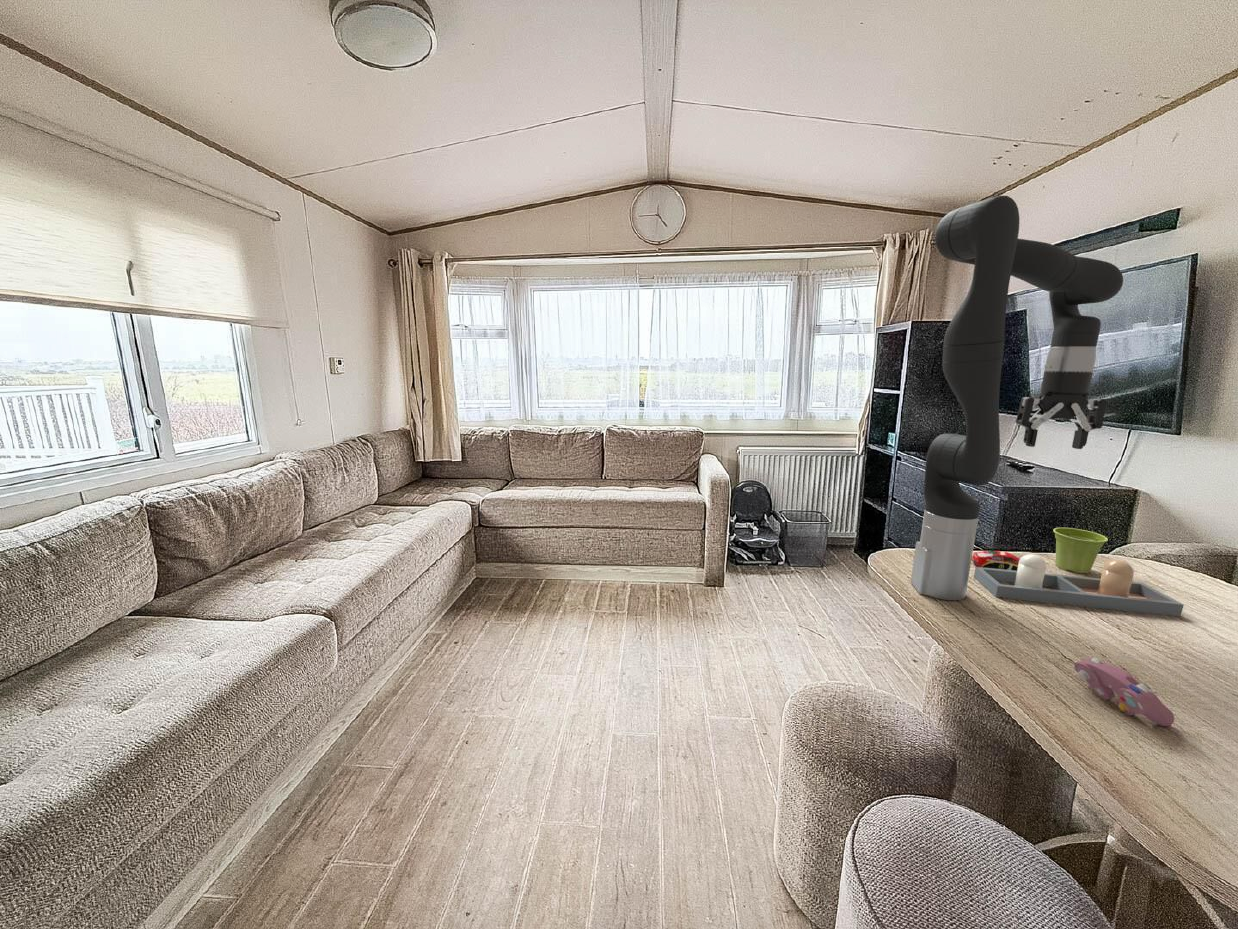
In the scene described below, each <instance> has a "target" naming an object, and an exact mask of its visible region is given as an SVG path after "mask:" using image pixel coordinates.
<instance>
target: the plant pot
mask: <svg viewBox="0 0 1238 929" xmlns="http://www.w3.org/2000/svg"><path fill="white" fill-rule="evenodd" d="M1052 532H1053V533H1054V538H1055V540H1056V541H1055V542H1056V543H1055V566H1056V567H1058V568H1060V569H1062V570H1065V571H1071V572H1073V573H1077V574H1088V573H1090V572H1091V570H1092V568H1093V566H1094V563H1095V562H1096V559H1097V556H1098V554H1099V552H1100V551H1101V548H1102V547H1104V545H1105V543H1107V542H1108V540H1109V539H1108V537H1106V536H1104V535H1103V534H1100V533H1097V532H1094V531H1090V530H1085V529H1079V528H1073V527H1056V528H1053V531H1052Z"/></svg>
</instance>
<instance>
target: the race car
mask: <svg viewBox="0 0 1238 929" xmlns="http://www.w3.org/2000/svg"><path fill="white" fill-rule="evenodd" d="M1020 559H1021V557H1018V556H1016V555H1015V554H1013V553H1010V552H1009V551H1008V552H1007V551H1002V550H1001V551H1000V550H983V551H975V552H974V553H973V554H972V559H971V562H973V564H974V565H976V567H983V568H993V569H1004V570H1014V571H1017V569H1018V564H1019V560H1020Z"/></svg>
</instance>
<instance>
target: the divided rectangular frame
mask: <svg viewBox="0 0 1238 929" xmlns="http://www.w3.org/2000/svg"><path fill="white" fill-rule="evenodd" d="M1016 575H1017V571H1014V570H1004V569H993V568H983V567H980V566H975V568H974V574H973V578H974V580H976V581H977V582H978V583H979V584H981V586H983V588H985V589H986V590H987V589H988V590H989V592H990V593H991V594H992V595H993V596H994V597H995V598H1000V597H1003V598H1002V599H1009V598H1010V599H1011V600H1019V601H1030V602H1038V601H1040V603H1050V604H1056V605H1067V606H1068V605H1069V606H1078V607H1085V608H1086V607H1087V608H1094V609H1105V610H1114V611H1122V612H1123V611H1124V612H1133V613H1143V614H1151V613H1152V615H1160V614H1161V615H1162V616H1169V615H1171V616H1170V617H1179V616H1180V617H1179V618H1181V616H1182V613H1183V608H1184V604H1183V603H1181V602H1180V601H1177V600H1176V599H1174V598H1172V597H1171V596H1169V595H1167V594H1164V593H1163V592H1161V591H1159V590H1157V589H1155V588H1153V587H1152V586H1150V585H1149V584H1146V583H1144V582H1140V581H1139V582H1138V581H1132V584H1131V588H1130V592H1129V597H1122V596H1112V595H1102V594H1097V593H1098V589H1099V584H1100V580H1101V578H1099V577H1098V578H1097V577H1096V578H1095V577H1085V576H1075V575H1067V574H1066V575H1063V574H1055V573H1054V574H1053V573H1046V572H1045V575H1044V580H1043V585H1042V588H1032V587H1022V586H1014V584H1015V580H1016ZM1000 582H1002V583H1012V584H1013V585H1010V584H1002V583H1000ZM1043 587H1052V588H1055V589H1050V588H1043ZM988 590H987V591H988Z"/></svg>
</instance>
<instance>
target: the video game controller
mask: <svg viewBox="0 0 1238 929" xmlns="http://www.w3.org/2000/svg"><path fill="white" fill-rule="evenodd" d="M1073 666H1074V669H1075V671H1076V673H1077V674H1078V676H1079V678H1081V679H1082V680H1084V681H1085V682H1086V683H1087V684H1088V685H1089V687H1090V688H1091V689H1092V691H1093V692H1094V694H1096V695H1097V697H1099V698H1101V699H1102V700H1105V701H1106V700H1109V699H1111V698H1113V697H1115V693H1117V696H1118V697H1116V698H1114V702H1115V705H1116V706H1117V707H1118V709H1120V710H1121V711H1122V712H1123V713H1125V714H1126V715H1128V716H1134V715H1135V714H1139V715H1142V716H1144V717H1145V718H1146V719H1148V720H1149V721H1151V722H1152V723H1154V724H1156V725H1158V726H1161V727H1171V726H1172V725H1173V724H1174V722H1175V716H1174V713H1173V712H1172V710H1171V709H1170V708H1168V707H1167V706H1166V705H1165V704H1163V702H1162V701H1161V700H1160V699H1159V697H1158V696H1157V694H1155V693H1154V692H1153V691H1152V690H1151V689H1150V688H1149V687H1148V686H1147V685H1145V684H1143V683H1140V681H1138V680H1137V678H1135V677H1133V676H1132V675H1131V674H1130V673H1129V672H1128V671H1126V670H1125V669H1123V668H1120V667H1119V666H1116V665H1112V664H1109V663H1105V662H1101V660H1100V659H1099V658H1097V657H1093V658H1086V659H1081V660H1079V661H1077V662H1075V663H1074V664H1073Z"/></svg>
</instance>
